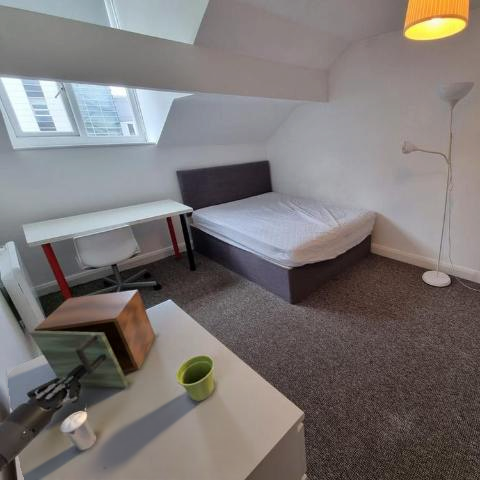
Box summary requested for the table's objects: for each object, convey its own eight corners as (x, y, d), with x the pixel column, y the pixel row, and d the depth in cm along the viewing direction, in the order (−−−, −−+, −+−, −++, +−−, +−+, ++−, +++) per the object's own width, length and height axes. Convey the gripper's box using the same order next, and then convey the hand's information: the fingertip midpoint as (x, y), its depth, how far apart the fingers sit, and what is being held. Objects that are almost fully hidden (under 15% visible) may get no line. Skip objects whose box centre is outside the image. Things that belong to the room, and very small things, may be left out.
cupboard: (138, 369, 82) (116, 318, 74) (65, 381, 79) (33, 329, 71) (155, 336, 95) (137, 289, 87) (92, 346, 92) (68, 298, 84)
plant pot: (188, 414, 69) (180, 392, 65) (180, 388, 76) (172, 366, 72) (224, 393, 74) (218, 371, 70) (213, 370, 81) (208, 349, 77)
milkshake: (107, 434, 65) (91, 407, 61) (82, 457, 61) (63, 430, 57) (96, 426, 67) (80, 399, 63) (71, 448, 63) (52, 421, 59)
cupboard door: (112, 405, 72) (83, 350, 64) (44, 401, 73) (7, 348, 65) (128, 384, 77) (103, 332, 69) (65, 382, 79) (33, 330, 71)
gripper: (-4, 442, 60) (67, 375, 76) (49, 445, 59) (111, 377, 75) (-23, 420, 57) (56, 356, 73) (33, 424, 56) (101, 357, 72)
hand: (84, 367), depth 74 cm, fingers closed
